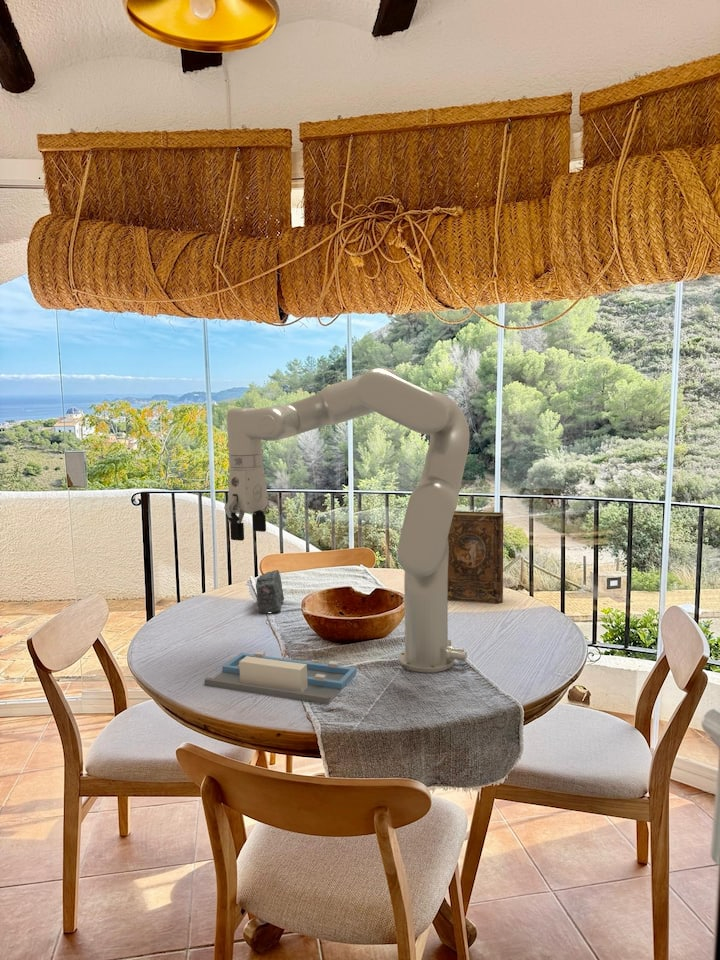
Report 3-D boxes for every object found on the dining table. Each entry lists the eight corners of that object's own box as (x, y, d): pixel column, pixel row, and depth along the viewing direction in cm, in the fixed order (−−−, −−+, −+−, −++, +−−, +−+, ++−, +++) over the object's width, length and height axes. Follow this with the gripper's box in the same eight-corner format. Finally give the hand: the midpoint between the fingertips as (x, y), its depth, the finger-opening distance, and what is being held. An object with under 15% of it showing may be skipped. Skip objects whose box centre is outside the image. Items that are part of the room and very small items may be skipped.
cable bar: (307, 687, 143) (306, 664, 143) (301, 693, 141) (300, 669, 140) (247, 678, 148) (246, 656, 148) (240, 684, 146) (239, 661, 145)
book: (503, 598, 201) (504, 512, 198) (501, 604, 196) (502, 516, 193) (446, 594, 206) (446, 510, 203) (443, 600, 201) (443, 514, 197)
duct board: (356, 676, 150) (356, 664, 150) (328, 708, 136) (328, 694, 136) (242, 660, 160) (241, 649, 160) (204, 688, 146) (204, 675, 145)
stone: (284, 614, 192) (283, 578, 191) (256, 615, 191) (254, 580, 190) (284, 600, 204) (283, 566, 203) (257, 601, 204) (256, 567, 202)
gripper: (239, 467, 151) (243, 544, 153) (278, 458, 167) (281, 528, 169) (210, 466, 154) (213, 542, 156) (251, 457, 169) (254, 527, 172)
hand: (248, 535), depth 162 cm, fingers open, 9 cm apart
